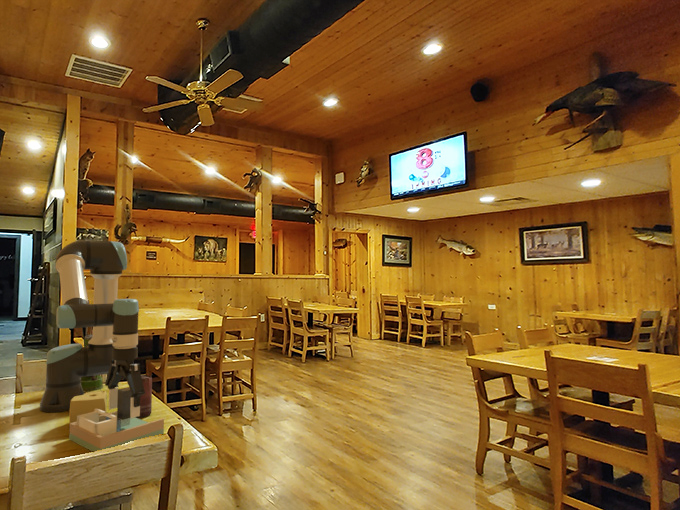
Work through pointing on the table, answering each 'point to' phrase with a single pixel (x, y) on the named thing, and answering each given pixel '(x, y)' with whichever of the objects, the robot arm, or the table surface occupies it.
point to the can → (146, 397)
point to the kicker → (123, 408)
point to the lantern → (91, 381)
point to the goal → (97, 422)
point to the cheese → (87, 404)
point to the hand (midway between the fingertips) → (123, 412)
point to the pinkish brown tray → (126, 434)
